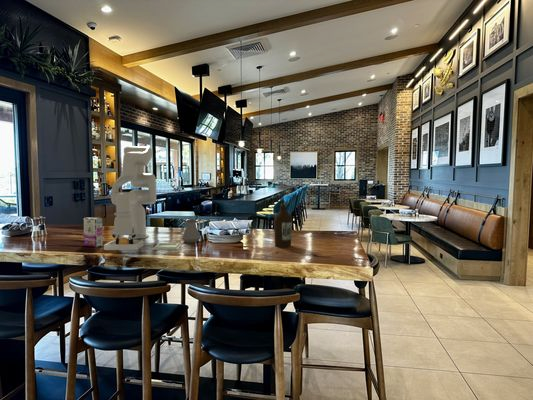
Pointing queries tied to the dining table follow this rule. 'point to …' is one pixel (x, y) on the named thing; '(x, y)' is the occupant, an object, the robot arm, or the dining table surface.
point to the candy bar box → (93, 232)
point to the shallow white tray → (124, 245)
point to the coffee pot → (191, 232)
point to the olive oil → (283, 228)
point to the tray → (167, 246)
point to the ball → (124, 240)
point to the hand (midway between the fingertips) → (124, 245)
